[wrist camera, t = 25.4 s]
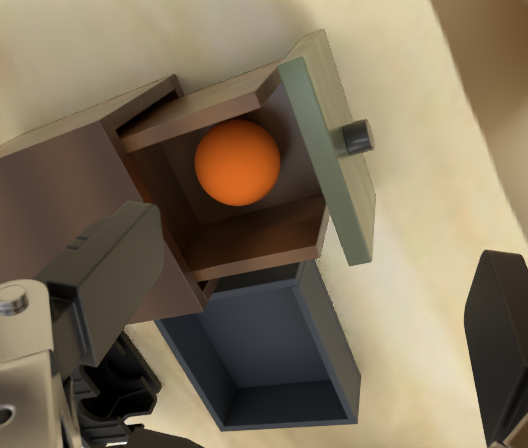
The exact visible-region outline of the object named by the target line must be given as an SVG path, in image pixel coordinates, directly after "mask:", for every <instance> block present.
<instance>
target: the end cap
mask: <svg viewBox="0 0 528 448" xmlns="http://www.w3.org/2000/svg"><path fill="white" fill-rule="evenodd" d="M71 375H72V378H73V383H74V391H75V398H76V406H77V413H78V421H79V428H80V436H81V443H82V447H83V448H104V447H106V445H107V443H118V442H128V440H129V438H130V436H131V434H132V432H133V431H134V429H135V427H138V428H144V427H145V426H144V425H143V424H132V425H126V424H125V423H124V421H125V420H126V419H127V418H129V417H132V416H140V415H149V414H151V413H152V411H153V409H154V407H155V405H156V403H157V396H156V394H157V393H159V391H160V389H161V387H162V386H161V384H160V382H159V381H158V379H157V378H156V377H155V375H154V374H153V372H152V371H151V369H150V368H149V367H148V365H147V364H146V362H145V361H144V360H143V358H142V357H141V355H140V354H139V352H138V351H137V350H136V348H135V347H134V345H133V344H132V343H131V341H130V340H129V338H128V337H127V335H126V334H125V333H124V331H123V330H122V332H121V333H120V335H119V336H118V337H117V339H116V340H115V342H114V343H113V345H112V346H111V348H110V349H109V351H108V352H107V353H106V355H105V356H104V358H103V359H102V361H101V362H100V364H99V365H98V367H93V366H88V365H83V364H77V365H76V367H75V368H74V369H73V371H72V372H71Z"/></svg>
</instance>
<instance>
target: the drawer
mask: <svg viewBox="0 0 528 448" xmlns="http://www.w3.org/2000/svg"><path fill="white" fill-rule="evenodd" d="M236 119H237V120H246V121H250V122H253V123H255V124H257V125H259V126H261V127H262V128H263V129H265V130H266V131H267V132H268V133H269V134H270V135H271V136H272V138H273V139H274V141H275V143H276V145H277V147H278V150H279V154H280V172H279V176H278V179H277V181H276V183H275V185H274V186H273V188H272V189H271V191H270V192H269V193H268V194H267V195H266V196H265V197H263V198H262V199H260V200H258V201H257V202H254V203H252V204H248V205H243V206H233V205H227V204H224V203H222V202H219V201H217V200H215V199H214V198H213V197H211V196H210V195H209V194H208V193H207V192H206V191H205V190H204V189H203V187H202V186H201V184H200V182H199V180H198V178H197V174H196V170H195V155H196V150H197V147H198V145H199V143H200V141H201V139H202V138H203V136H204V135H205V134H206V133H207V132H208V131H209V130H210V129H211V128H213V127H214V126H216V125H217V124H219V123H222V122H224V121H228V120H236ZM115 131H116V133H117V134H118V136H119V138H120V140H121V142H122V144H123V146H124V147H125V149H126V151H127V153H128V155H129V157H130V159H131V161H132V162H133V164H134V166H135V168H136V170H137V172H138V174H139V175H140V177H141V179H142V181H143V183H144V185H145V187H146V189H147V190H148V192H149V194H150V196H151V198H152V200H153V202H154V203H155V204H156V205H157V206H158V208H159V210H160V215H161V217H162V218H163V220H164V222H165V224H166V226H167V228H168V230H169V231H170V233H171V235H172V237H173V239H174V241H175V243H176V244H177V246H178V248H179V250H180V252H181V254H182V256H183V258H184V259H185V261H186V263H187V265H188V267H189V269H190V271H191V272H192V274H193V276H194V278H195V280H196V282H199V281H205V280H210V279H215V278H220V277H225V276H230V275H235V274H240V273H245V272H250V271H255V270H260V269H265V268H270V267H276V266H281V265H286V264H291V263H296V262H301V261H306V260H311V259H316V258H320V256H321V251H322V247H323V242H324V238H325V233H326V229H327V224H328V220H329V216H330V215H331V218H332V220H333V223H334V226H335V229H336V231H337V234H338V237H339V240H340V242H341V245H342V248H343V251H344V253H345V256H346V259H347V262H348V264H349V266H353V265H358V264H364V263H369V262H372V253H373V236H374V220H375V203H376V194H375V191H374V187H373V184H372V181H371V178H370V175H369V171H368V168H367V165H366V162H365V158H364V155H363V153H364V152H367V151H371V150H374V140H373V135H372V131H371V128H370V125H369V122H368V120H367V119H364V120H360V121H357V122H354V123H353V120H352V117H351V114H350V110H349V107H348V104H347V101H346V97H345V94H344V91H343V88H342V85H341V81H340V78H339V75H338V72H337V69H336V65H335V62H334V59H333V56H332V53H331V49H330V46H329V43H328V40H327V36H326V33H325V30H324V29H321V30H318V31H316V32H313V33H311V34H308V35H305V36H304V37H303V38H302V39H301V40H300V41H299V42H298V43H297V44H296V46H295V47H294V48H293V49H292V50H291V51H290V52H289V53H288V54H287V55H286V56H285V58H284V59H282V60H279V61H276V62H274V63H271V64H268V65H265V66H263V67H260V68H257V69H255V70H252V71H249V72H247V73H244V74H241V75H239V76H236V77H233V78H231V79H228V80H225V81H223V82H220V83H217V84H215V85H212V86H209V87H207V88H204V89H201V90H199V91H196V92H193V93H191V94H188V95H185V96H183V97H180V98H177V99H175V100H172V101H169V102H167V103H164V104H161V105H159V106H156V107H153V108H151V109H148V110H145V111H143V112H141V113H139V114H138V115H137V116H135V117H134V118H132V119H131V120H129V121H128V122H126V123H125V124H123V125H122V126H121V127H119V128H118V129H116V130H115Z"/></svg>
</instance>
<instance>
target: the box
mask: <svg viewBox="0 0 528 448" xmlns="http://www.w3.org/2000/svg"><path fill="white" fill-rule="evenodd" d="M153 321H154V323H155V324H156V326H157V327H158V329H159V331H160V332H161V334H162V336H163V337H164V339H165V341H166V342H167V344H168V346H169V347H170V349H171V350H172V352H173V354H174V355H175V357H176V359H177V360H178V362H179V364H180V365H181V367H182V368H183V370H184V372H185V373H186V375H187V377H188V378H189V380H190V382H191V383H192V385H193V387H194V388H195V390H196V391H197V393H198V395H199V396H200V398H201V400H202V401H203V403H204V405H205V406H206V408H207V410H208V411H209V413H210V414H211V416H212V418H213V419H214V421H215V423H216V424H217V426H218V427H219V429H220V431H221V432H223V431H241V430H258V429H276V428H293V427H311V426H328V425H346V424H358V412H359V397H360V383H361V382H360V381H361V375H360V373H359V370H358V368H357V365H356V363H355V360H354V358H353V355H352V353H351V350H350V348H349V345H348V343H347V340H346V338H345V335H344V333H343V330H342V328H341V325H340V323H339V320H338V317H337V315H336V312H335V310H334V307H333V305H332V302H331V300H330V297H329V295H328V292H327V290H326V287H325V285H324V282H323V280H322V277H321V275H320V272H319V270H318V267H317V265H316V262H315V260H314V259H311V260H306V261H301V262H296V263H291V264H286V265H281V266H276V267H270V268H265V269H260V270H255V271H250V272H245V273H240V274H235V275H230V276H225V277H220V279H219V281H218V283H217V285H216V287H215V289H214V291H213V293H212V295H211V297H210V299H209V301H208V304H207V306H206V308H205V310H204V311H203V312H199V313H193V314H187V315H181V316H175V317H169V318H163V319H157V320H153Z"/></svg>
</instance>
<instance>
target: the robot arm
mask: <svg viewBox="0 0 528 448" xmlns="http://www.w3.org/2000/svg"><path fill="white" fill-rule="evenodd" d="M164 258H165V254H164V244H163V235H162V226H161V217H160V210H159V208H158V206H157V205H156V204H150V203H143V202H136V201H126V202H125V203H124V204H123V205H122V206H121V207H120V208H119V209H118V210H117V211H116V212H115V213H114V214H113V215H112V216H111V217H109V216H106V217H104V218H102V219H100V220H98V221H96V222H94V223H92V224H90V225H88V226H87V227H86V228H85V229H84V230H83V231H82V232H81V233H80V234H79V235H78V236H77V239H74V240H73V241H71V242H70V243H69V244H68V245H67V248H66V249H65V248H64V249H63V250H62V251H61V252H60V253H59V254H58V255H57V256H56V257H55V258H54V259H52V260H51V261H50V262H49V263H48V264H47V265H46V266H45V267H44V268H43V269H42V270H41V271H40V272H39V273H38V274H37V275H36V276H34V277H33V278H32V279H20V280H13V281H9V282H5V283H3V284H0V448H82V443H81V436H80V428H79V421H78V413H77V406H76V398H75V391H74V383H73V378H72V375H71V372H72V371H73V369H74V368H75V367H76V365H77V364H83V365H88V366H93V367H98V365H99V364H100V362H101V361H102V359H103V358H104V356H105V355H106V353H107V352H108V351H109V349H110V348H111V346H112V345H113V343H114V342H115V340H116V339H117V337H118V336H119V335H120V333H121V332H122V330H123V329H124V327H125V326H126V324H127V323H128V321H129V320H130V319H131V317H132V316H133V314H134V313H135V311H136V310H137V308H138V307H139V305H140V304H141V303H142V301H143V300H144V298H145V297H146V295H147V294H148V292H149V291H150V289H151V288H152V287H153V285H154V284H155V282H156V281H157V279H158V278H159V276H160V274H161V272H162V269H163V265H164ZM464 328H465V334H466V339H467V344H468V350H469V355H470V360H471V366H472V371H473V376H474V381H475V387H476V392H477V397H478V403H479V408H480V413H481V419H482V424H483V429H484V434H485V440H486V445H487V448H528V268H527V266H526V263H525V261H524V259H523V257H522V255H520V254H514V253H507V252H499V251H492V250H484V251H483V253H482V255H481V257H480V260H479V263H478V266H477V269H476V273H475V276H474V279H473V282H472V285H471V288H470V292H469V295H468V298H467V301H466V305H465V312H464ZM104 448H204V447H202V446H200V445H198V444H196V443H195V442H193V441H191V440H189V439H187V438H182V437H178V436H173V435H169V434H165V433H160V432H156V431H152V430H147V429H143V428H138V427H135V429H134V431H133V432H132V434H131V436H130V438H129V440H128V442H127V444H124V445H114V446H108V447H104Z"/></svg>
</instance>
